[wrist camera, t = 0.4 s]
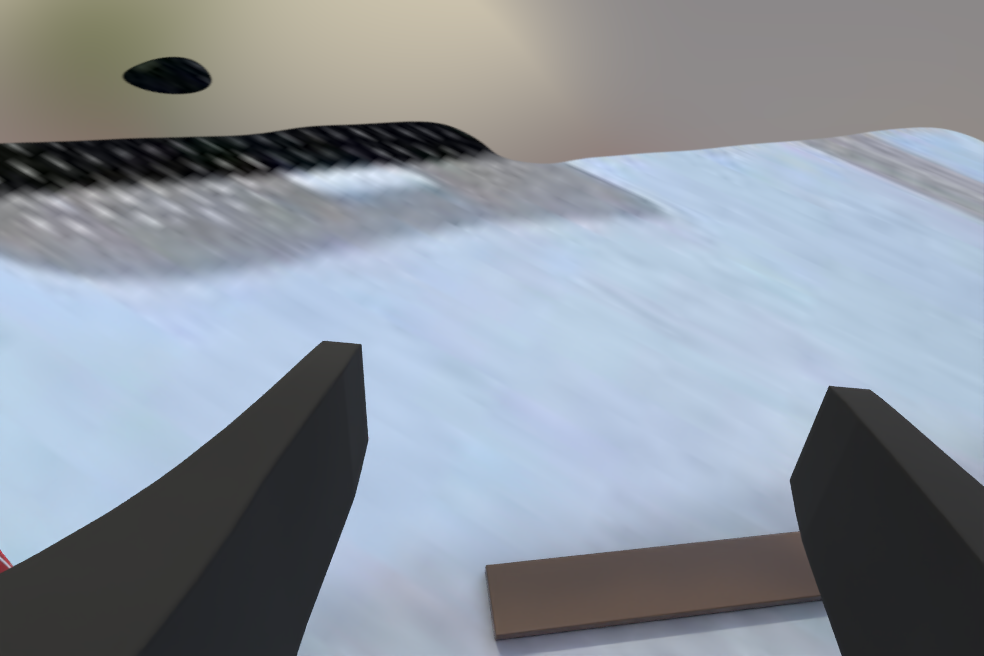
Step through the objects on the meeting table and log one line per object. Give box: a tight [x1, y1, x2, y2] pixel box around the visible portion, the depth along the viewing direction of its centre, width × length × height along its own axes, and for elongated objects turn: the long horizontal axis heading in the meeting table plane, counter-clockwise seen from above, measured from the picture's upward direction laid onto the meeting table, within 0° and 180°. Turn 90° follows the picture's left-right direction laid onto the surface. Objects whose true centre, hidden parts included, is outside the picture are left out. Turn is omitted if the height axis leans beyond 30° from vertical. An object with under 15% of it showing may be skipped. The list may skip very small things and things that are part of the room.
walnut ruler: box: [485, 531, 822, 640], centre depth 30 cm, size 3×24×1 cm, turn 98°
